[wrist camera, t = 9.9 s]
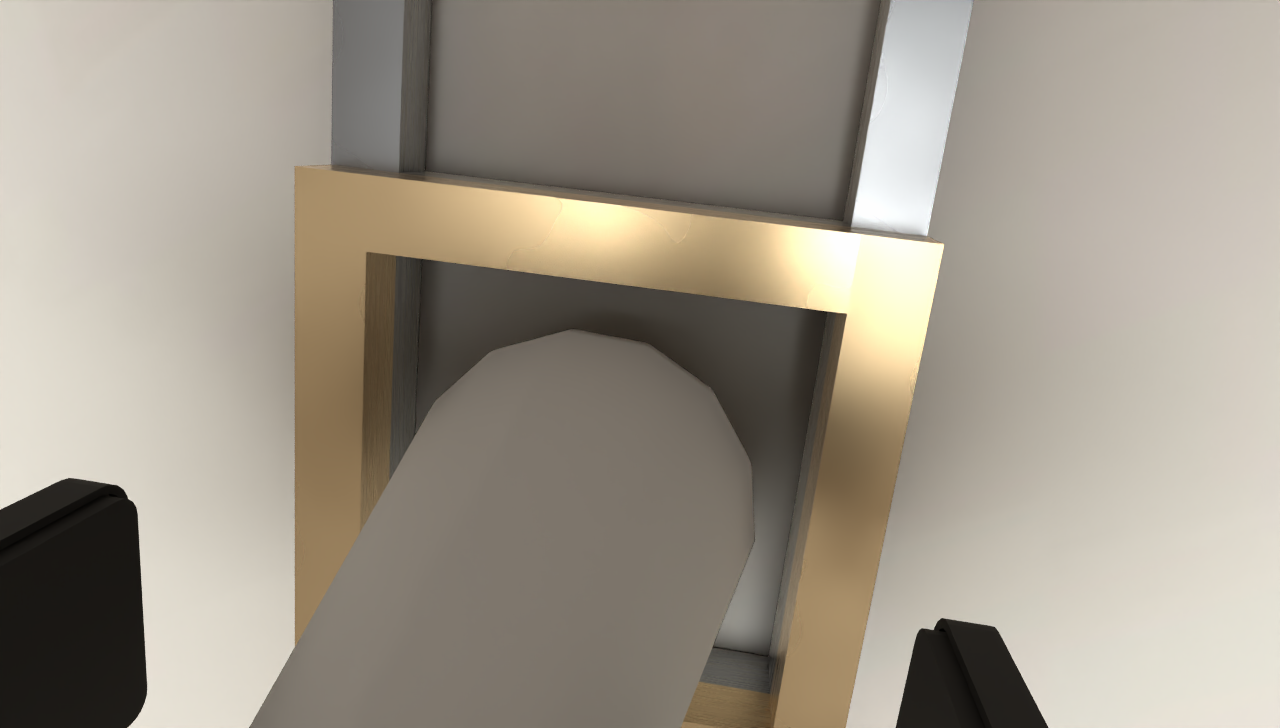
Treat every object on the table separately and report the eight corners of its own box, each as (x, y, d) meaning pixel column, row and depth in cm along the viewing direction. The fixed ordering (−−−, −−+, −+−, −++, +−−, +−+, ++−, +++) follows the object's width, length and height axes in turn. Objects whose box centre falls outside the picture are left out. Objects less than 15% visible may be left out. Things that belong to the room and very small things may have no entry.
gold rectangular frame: (362, 163, 15) (294, 165, 13) (912, 229, 14) (944, 244, 12) (346, 951, 20) (295, 1054, 18) (756, 1037, 19) (757, 1157, 17)
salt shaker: (756, 587, 17) (783, 1944, 4) (478, 585, 17) (-217, 1718, 5) (749, 297, 15) (751, 1021, 3) (445, 308, 16) (-663, 909, 3)
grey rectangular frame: (374, -410, 13) (337, -463, 12) (1029, -376, 12) (1059, -430, 11) (353, 636, 18) (326, 669, 17) (818, 717, 17) (823, 758, 16)
